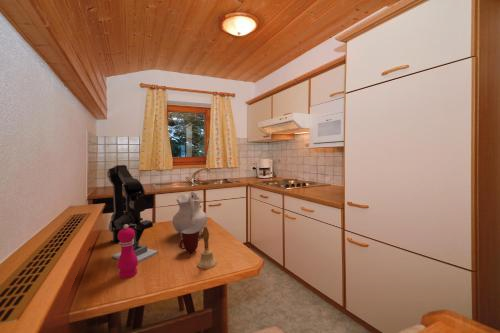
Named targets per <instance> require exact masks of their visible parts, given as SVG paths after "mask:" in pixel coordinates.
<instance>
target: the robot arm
mask: <svg viewBox="0 0 500 333" xmlns="http://www.w3.org/2000/svg"><path fill="white" fill-rule="evenodd" d="M106 175H107V178H108V181H109V183H111V185H112V197H113V198H112V199H113V200H112V201H113V213H112V214H111V216H110V221H109V225H108V231H110V232H111V233H112V239H111V240H110V242H112V243H114V244H120V243H119V242H120V240H119V239H118V233H119V231H120V230H122V229H124V228H123V226H124V225H125V224H127V225H128V226H129V227H128V228H133V227H135V228H134V229H133V230H134V232H135V238H136V242H139V243H140V239H141V238H142V235H143V232H144V231H145V230H148V229H150V228H151V229H152V228H153V227H154V223H153V221H152V220H148V219H147V220H146V219H145V220H144V219H143V217H141V213H143V212H144V211H145V210H147V208H148V202H147V201H146V199H144V198H143V197H145V193H146V192H145V191H146V190H145V189H144V186H143V184H142V182H140V180H139V179H138V178H134V177H133V175H132V174H131V172H130V170H128V166H127V165H125V164H118V165H115V166H113V167H111V168H108V170H107V172H106ZM124 197H125V207H126V208H125V211H124Z"/></svg>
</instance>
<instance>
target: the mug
mask: <svg viewBox="0 0 500 333" xmlns="http://www.w3.org/2000/svg"><path fill="white" fill-rule="evenodd" d="M181 234H182V237H181V240H180V241H179V244H178V247H179V249H180V250H185V251H186V253H189V254H192V253H195V252H196V251H197V249H198V246H199V240H200V236H199V230H198V229H196V228H190V229H185V230H183V231H182V233H181Z"/></svg>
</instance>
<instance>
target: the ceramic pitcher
mask: <svg viewBox="0 0 500 333" xmlns="http://www.w3.org/2000/svg"><path fill="white" fill-rule="evenodd" d="M176 202H177V204H178V207H179V210H178V211H177V212H176V213H175V215H173V217H172V225H173V228H174V230H175V231H177V233H179V234H180V238H182V231H183V230H185V229H190V228H196V229H198V230H199V237H200V236H202V232H201V231H203V230H204V227H207V226H206V225H207V223H208V217H207V216H208V215H207V214H208V213H206V212H205V211H203V210H202V209H201V206H200V204H201V202H202V197H201V195H200V196H199V194H198V192H196V191H191V192H190V194H186V193H183V192H182V193H180V194H179V196H178V197H177V198H176Z"/></svg>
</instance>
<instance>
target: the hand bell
mask: <svg viewBox="0 0 500 333" xmlns="http://www.w3.org/2000/svg"><path fill="white" fill-rule="evenodd" d="M202 239H203V242H204V243H203V244H204V245H203V246H204V249H203V250H201V253H200V259H199V260H198V262H197V264H196V265H197V266H196V267H198V268H199V269H206V270H207V269H210V268H211V269H212V268H214V267H215V266H217V265H218V262H217V260H216V259H215V258H214V255H213V250H211V249H209V239H210V232H209V229H208V227H207V226H205V227H204V229H202Z"/></svg>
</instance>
